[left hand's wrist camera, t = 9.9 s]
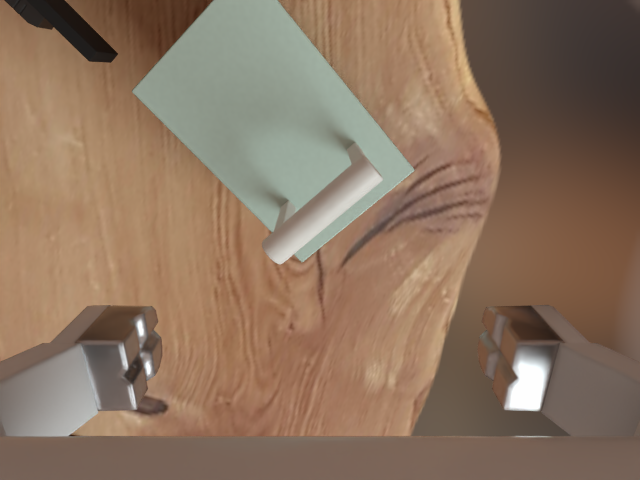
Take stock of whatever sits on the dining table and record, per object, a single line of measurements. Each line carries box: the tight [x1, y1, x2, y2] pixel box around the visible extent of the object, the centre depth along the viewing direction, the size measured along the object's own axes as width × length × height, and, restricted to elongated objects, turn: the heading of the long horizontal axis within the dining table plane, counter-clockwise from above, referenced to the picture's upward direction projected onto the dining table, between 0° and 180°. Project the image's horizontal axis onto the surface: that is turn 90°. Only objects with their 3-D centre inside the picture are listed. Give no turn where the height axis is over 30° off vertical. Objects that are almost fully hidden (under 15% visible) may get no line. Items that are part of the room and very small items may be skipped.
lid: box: [132, 0, 414, 264], centre depth 21 cm, size 14×9×8 cm, turn 42°
